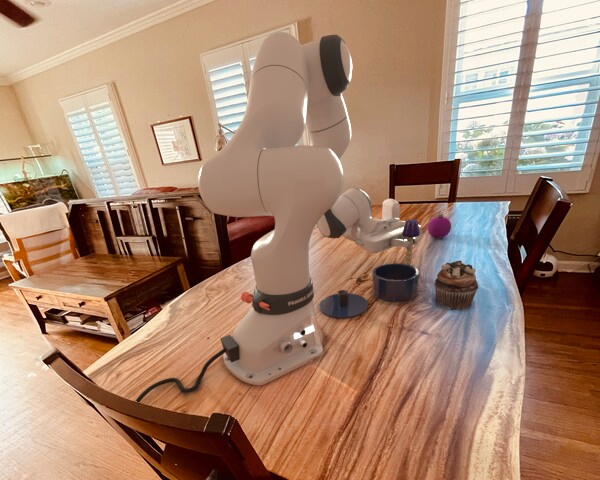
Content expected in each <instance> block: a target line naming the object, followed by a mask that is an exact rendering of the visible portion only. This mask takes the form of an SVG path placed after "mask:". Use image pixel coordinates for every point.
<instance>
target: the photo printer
mask: <svg viewBox="0 0 600 480" xmlns="http://www.w3.org/2000/svg"><path fill="white" fill-rule="evenodd" d="M381 210H382V211H381V212H382V214H381V219H393V218H398V219H400V220H401V205H400V203H399V201H398V200H396V199H393V198H388V199H384V201H382V209H381Z"/></svg>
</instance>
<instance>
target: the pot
mask: <svg viewBox="0 0 600 480" xmlns="http://www.w3.org/2000/svg"><path fill="white" fill-rule="evenodd" d="M371 275H372V276H371V277H372V278H371V279H372V280H371V281H372V282H371V283H372V285H371V286H372V287H371V288H372V290H371V292H372V295H373V296H374V297H375V298H376V299H378V300H381V301H383V302H387V303H405V302H409V301H412V300H413V299H415V298H416V297H417V295H418V290H419V289H418V288H419V278H420V271H419V270H418V268H416V267H415V266H412V265H406V264H405V263H395V262H393V263H385V264H381V265H378V266H376V267H375V268H373V270H372V274H371Z"/></svg>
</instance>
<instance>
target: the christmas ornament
mask: <svg viewBox="0 0 600 480" xmlns="http://www.w3.org/2000/svg"><path fill="white" fill-rule="evenodd" d="M451 231H452V223H451V221H450V219H449V218H448V217H445V216H444V213H441V211H439V212H438V214H437V216H435V217H433V218H432V219H430V221H429V222H428V223H427V233H428V234H429V236H430V237H432V238H434V239H443V238H445V237H446V236H448V235H449V234H450V232H451Z"/></svg>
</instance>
